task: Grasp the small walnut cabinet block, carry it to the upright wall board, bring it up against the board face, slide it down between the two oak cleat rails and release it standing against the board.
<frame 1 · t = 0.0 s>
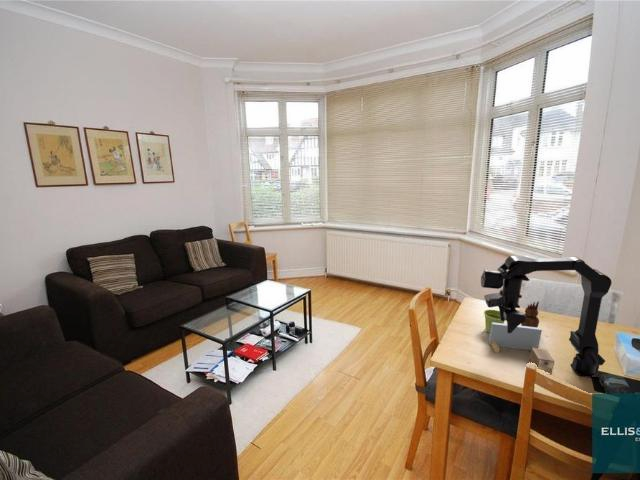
hand: (505, 326, 118), 15 cm above the table, fingers open, 9 cm apart
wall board: (512, 346, 130), on the table
cabinet block: (539, 367, 117), on the table
wooden figurine: (528, 330, 142), on the table
plant pot: (492, 331, 142), on the table
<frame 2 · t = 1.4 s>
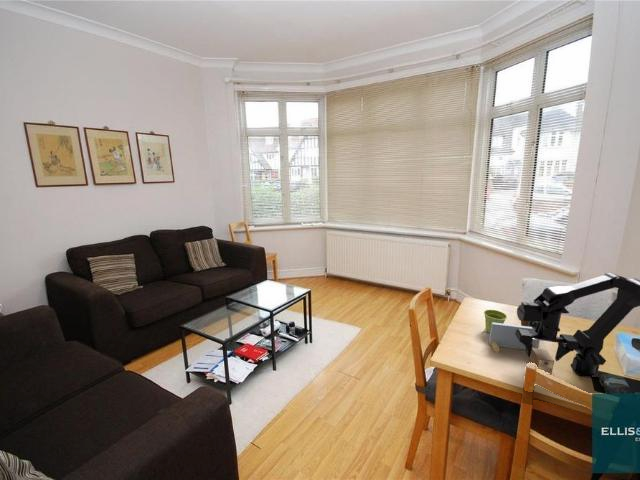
hand: (542, 358, 116), 4 cm above the table, fingers open, 9 cm apart
nothing on the table moved.
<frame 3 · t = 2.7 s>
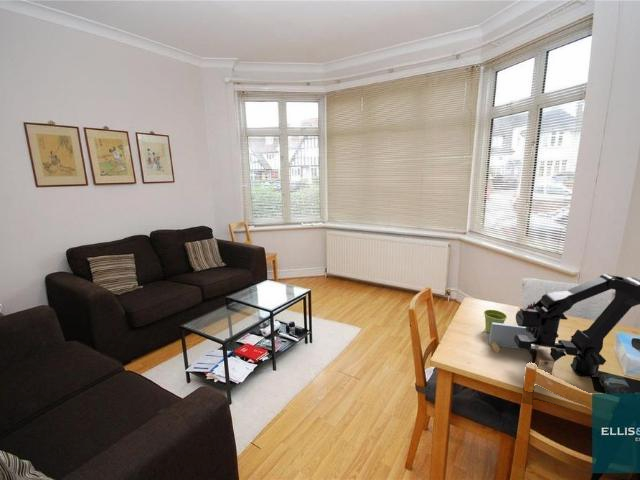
hand: (540, 363, 117), 2 cm above the table, fingers closed on cabinet block, 5 cm apart
cabinet block: (540, 367, 117), on the table, touching gripper
everything else where it was.
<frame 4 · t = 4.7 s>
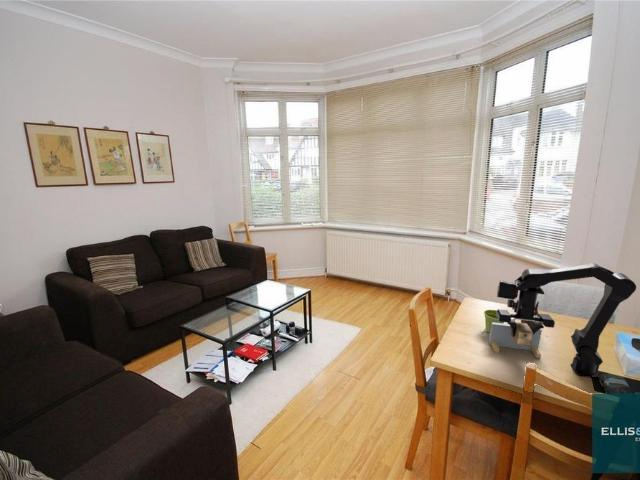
hand: (520, 337, 122), 8 cm above the table, fingers closed on cabinet block, 5 cm apart
cabinet block: (520, 340, 122), point 7 cm above the table, touching gripper
everything else where it was.
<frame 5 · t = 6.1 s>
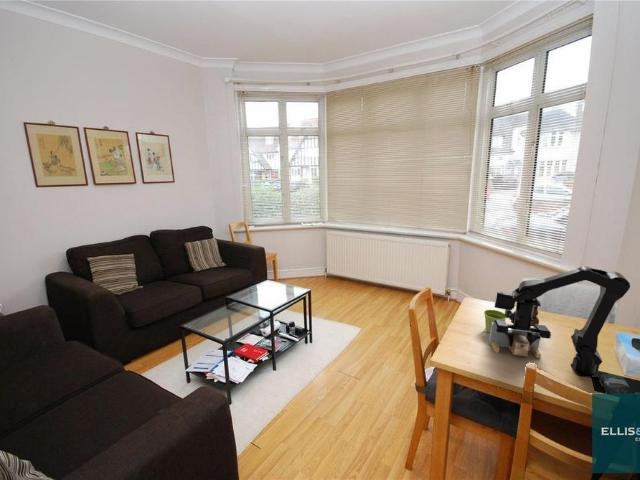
hand: (517, 347, 124), 3 cm above the table, fingers closed on cabinet block, 5 cm apart
cabinet block: (517, 350, 125), point 2 cm above the table, touching gripper
everything else where it was.
when the fingers open (3 cm above the table, at t = 6.9 s): cabinet block drops 2 cm, on the table.
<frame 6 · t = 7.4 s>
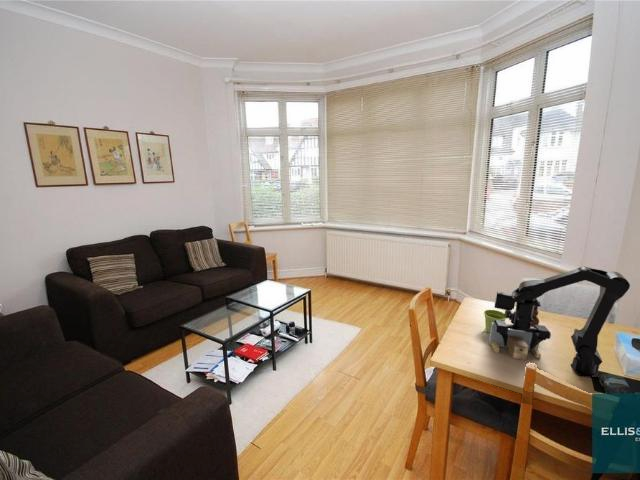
hand: (517, 347, 124), 3 cm above the table, fingers open, 9 cm apart
cabinet block: (516, 354, 125), on the table
everything else where it was.
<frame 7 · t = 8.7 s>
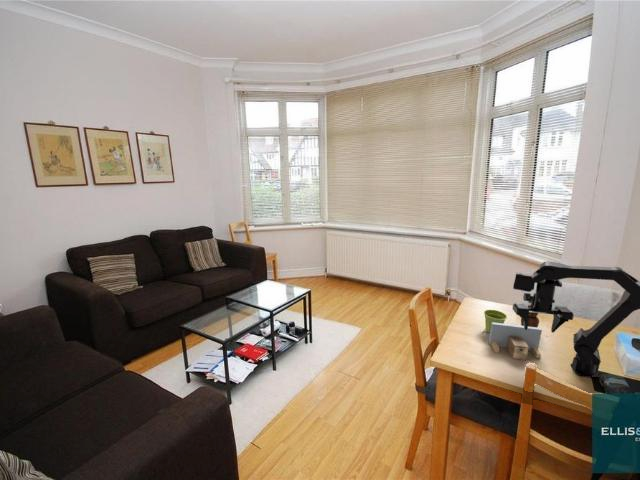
hand: (538, 330, 121), 12 cm above the table, fingers open, 9 cm apart
nothing on the table moved.
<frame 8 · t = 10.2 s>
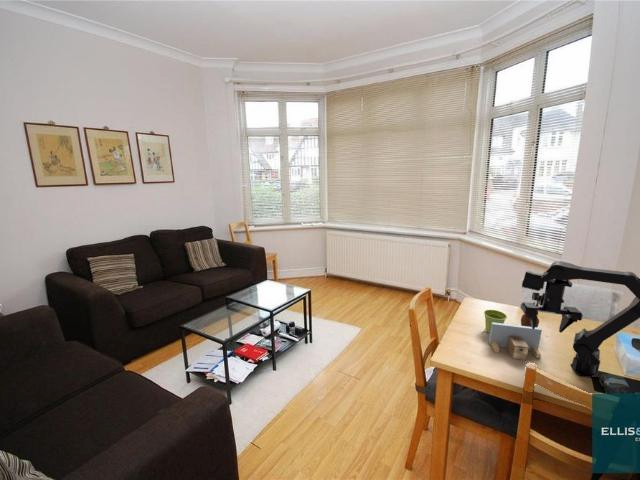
hand: (546, 330, 120), 12 cm above the table, fingers open, 9 cm apart
nothing on the table moved.
at the end: cabinet block inside the target area on the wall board (0.2 cm from its centre), point 0.0 cm above the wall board's base; cabinet block tilted 0°; the gripper is holding nothing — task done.
